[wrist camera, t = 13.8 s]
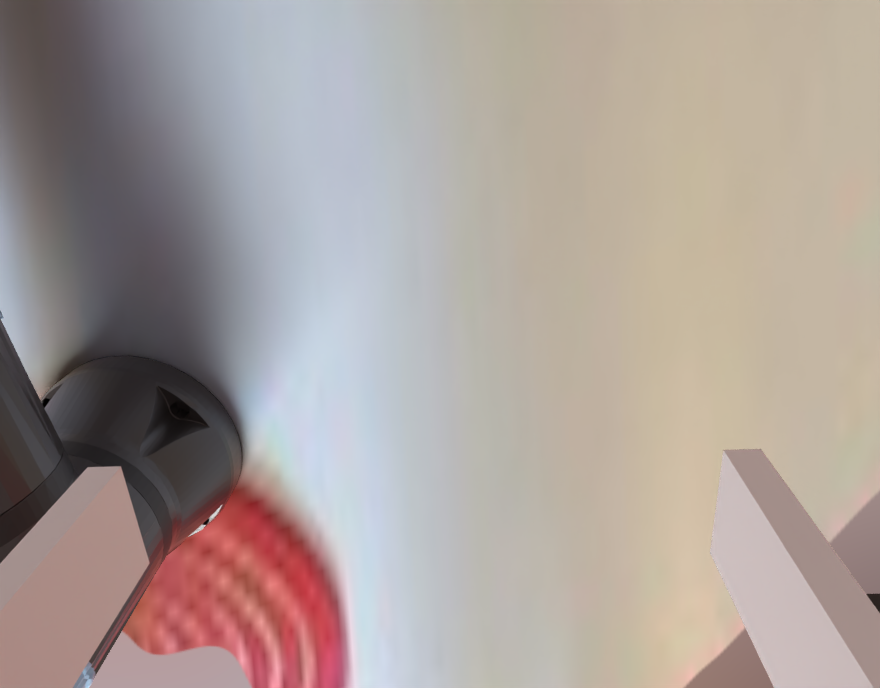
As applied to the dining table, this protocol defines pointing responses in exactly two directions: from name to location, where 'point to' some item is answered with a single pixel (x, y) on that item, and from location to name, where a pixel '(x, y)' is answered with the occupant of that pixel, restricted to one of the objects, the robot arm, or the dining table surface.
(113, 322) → the dining table surface
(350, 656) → the dining table surface
